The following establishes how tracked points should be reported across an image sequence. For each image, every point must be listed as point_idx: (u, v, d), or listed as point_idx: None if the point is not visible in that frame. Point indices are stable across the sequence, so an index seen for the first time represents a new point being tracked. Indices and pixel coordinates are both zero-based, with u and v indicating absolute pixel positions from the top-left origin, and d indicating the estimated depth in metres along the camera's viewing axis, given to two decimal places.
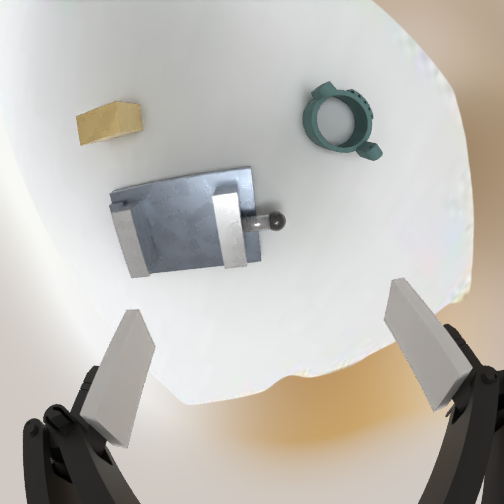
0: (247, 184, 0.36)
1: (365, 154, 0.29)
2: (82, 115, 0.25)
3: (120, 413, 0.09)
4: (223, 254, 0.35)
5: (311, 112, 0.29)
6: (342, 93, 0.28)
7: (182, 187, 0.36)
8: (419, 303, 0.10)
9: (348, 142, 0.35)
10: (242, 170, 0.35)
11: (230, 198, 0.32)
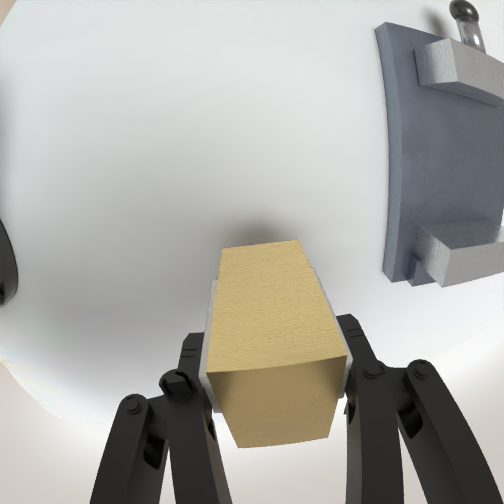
0: (411, 35, 0.12)
1: None
2: (239, 440, 0.09)
3: None
4: None
5: None
6: None
7: (415, 143, 0.16)
8: None
9: None
10: (390, 34, 0.12)
11: (458, 52, 0.09)
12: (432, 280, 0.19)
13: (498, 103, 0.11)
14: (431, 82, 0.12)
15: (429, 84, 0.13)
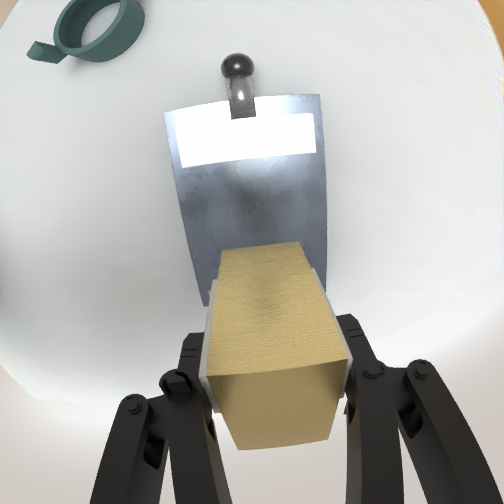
0: (187, 115, 0.21)
1: None
2: (239, 442, 0.09)
3: None
4: (288, 152, 0.19)
5: (78, 54, 0.15)
6: (56, 30, 0.13)
7: (193, 208, 0.25)
8: None
9: None
10: (166, 123, 0.21)
11: (185, 138, 0.18)
12: None
13: None
14: None
15: None
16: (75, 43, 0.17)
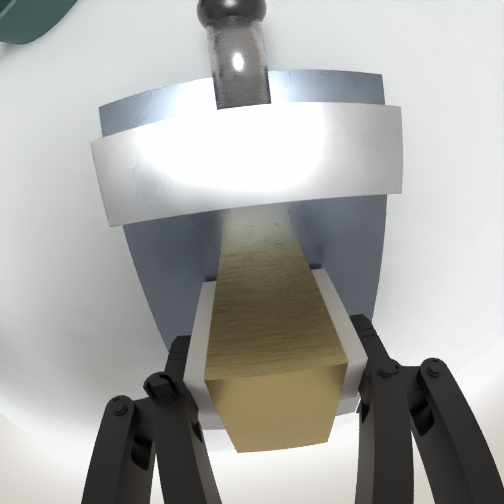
0: (138, 108, 0.10)
1: None
2: (238, 445, 0.09)
3: None
4: (347, 191, 0.08)
5: None
6: None
7: (158, 274, 0.14)
8: (330, 292, 0.12)
9: None
10: (103, 126, 0.11)
11: (109, 162, 0.07)
12: None
13: None
14: None
15: None
16: None
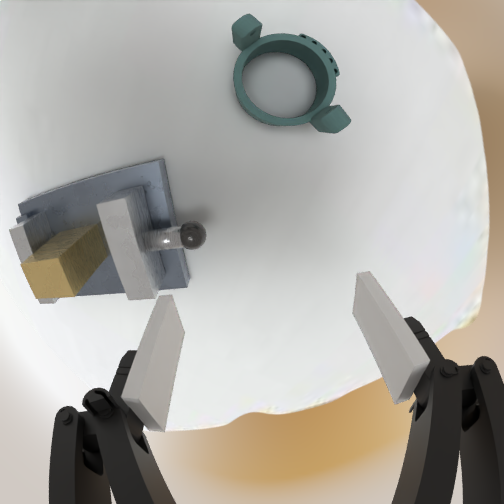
0: (155, 184, 0.24)
1: (321, 124, 0.17)
2: (26, 265, 0.19)
3: (159, 395, 0.09)
4: (123, 282, 0.24)
5: None
6: (284, 37, 0.16)
7: (81, 193, 0.24)
8: (381, 295, 0.11)
9: None
10: (147, 165, 0.23)
11: (118, 206, 0.20)
12: None
13: None
14: (111, 195, 0.23)
15: (112, 195, 0.23)
16: (270, 49, 0.20)
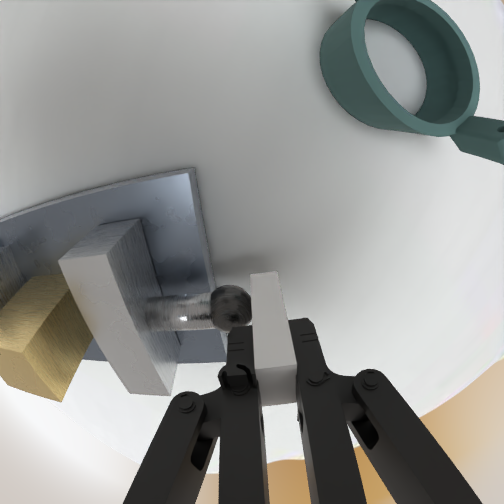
0: (181, 213, 0.14)
1: (490, 147, 0.08)
2: None
3: None
4: (118, 374, 0.14)
5: (348, 22, 0.08)
6: None
7: (56, 222, 0.14)
8: (275, 295, 0.13)
9: (419, 118, 0.13)
10: (168, 178, 0.13)
11: (95, 268, 0.10)
12: None
13: None
14: (86, 236, 0.13)
15: None
16: (373, 13, 0.10)
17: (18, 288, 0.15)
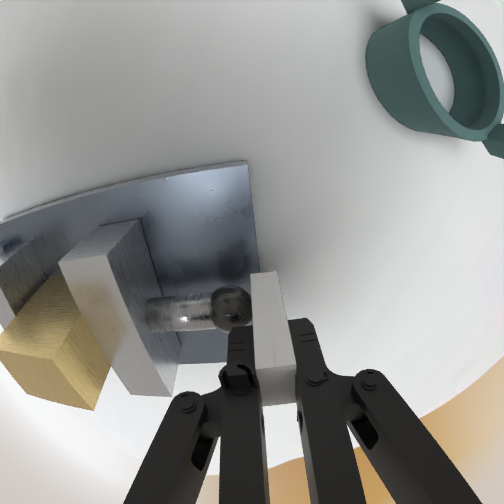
0: (238, 206, 0.14)
1: None
2: (0, 352, 0.09)
3: None
4: (119, 375, 0.14)
5: (404, 33, 0.08)
6: (456, 15, 0.06)
7: (91, 215, 0.14)
8: (275, 295, 0.13)
9: None
10: (226, 169, 0.13)
11: (95, 269, 0.10)
12: None
13: None
14: (86, 237, 0.13)
15: None
16: None
17: None
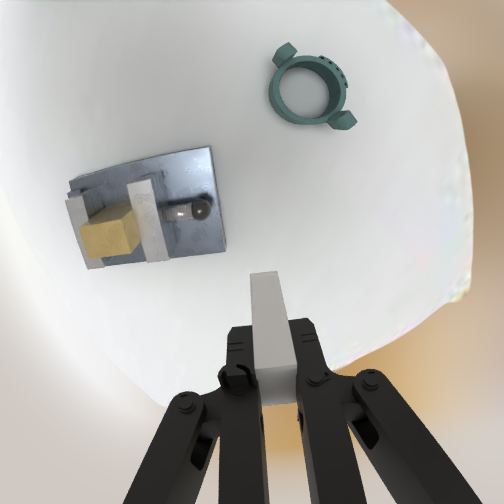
0: (205, 165, 0.31)
1: (336, 123, 0.25)
2: (85, 228, 0.26)
3: None
4: (144, 247, 0.31)
5: (273, 80, 0.25)
6: (309, 59, 0.23)
7: (137, 171, 0.31)
8: (275, 295, 0.13)
9: (321, 116, 0.30)
10: (199, 149, 0.31)
11: (144, 185, 0.28)
12: None
13: None
14: (136, 179, 0.30)
15: (137, 179, 0.31)
16: (295, 65, 0.27)
17: None
